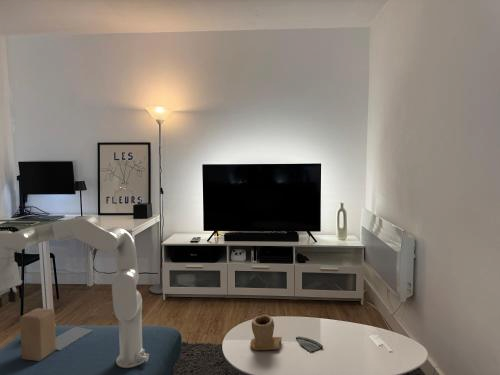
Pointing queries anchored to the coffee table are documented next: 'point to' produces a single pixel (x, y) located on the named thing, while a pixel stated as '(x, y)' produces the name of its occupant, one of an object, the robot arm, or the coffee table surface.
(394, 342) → the coffee table surface
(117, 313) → the robot arm
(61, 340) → the rubber mat
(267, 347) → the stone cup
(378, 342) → the white plastic blade
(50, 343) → the block
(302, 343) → the curved wedge
